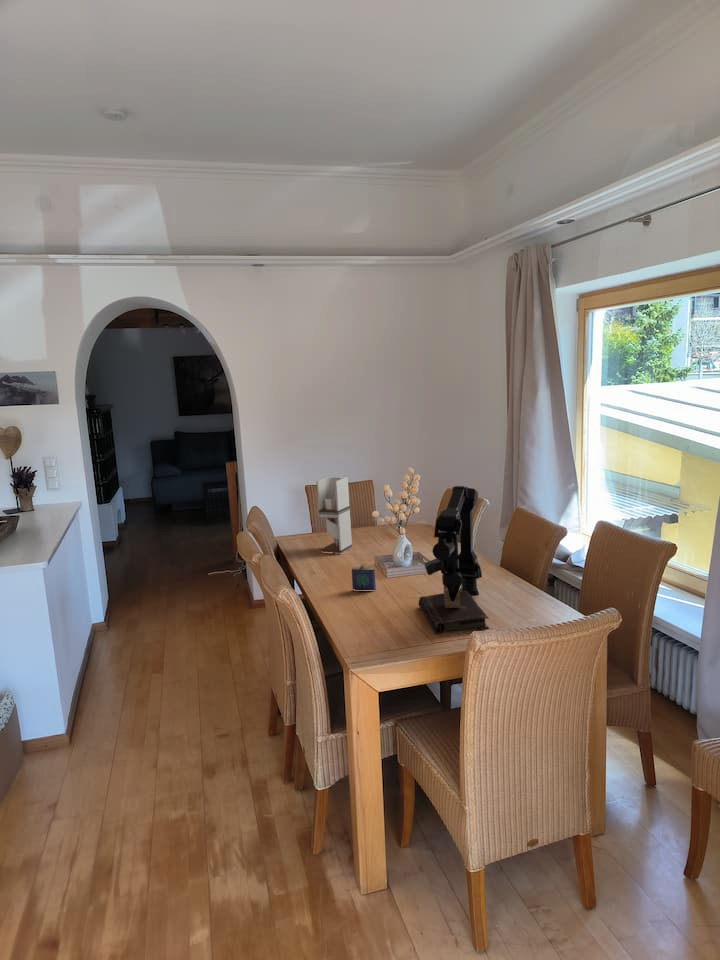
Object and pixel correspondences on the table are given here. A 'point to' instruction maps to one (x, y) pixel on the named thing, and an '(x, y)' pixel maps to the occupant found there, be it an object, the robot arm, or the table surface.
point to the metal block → (448, 602)
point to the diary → (453, 613)
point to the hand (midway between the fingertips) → (451, 596)
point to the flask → (363, 578)
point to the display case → (335, 512)
